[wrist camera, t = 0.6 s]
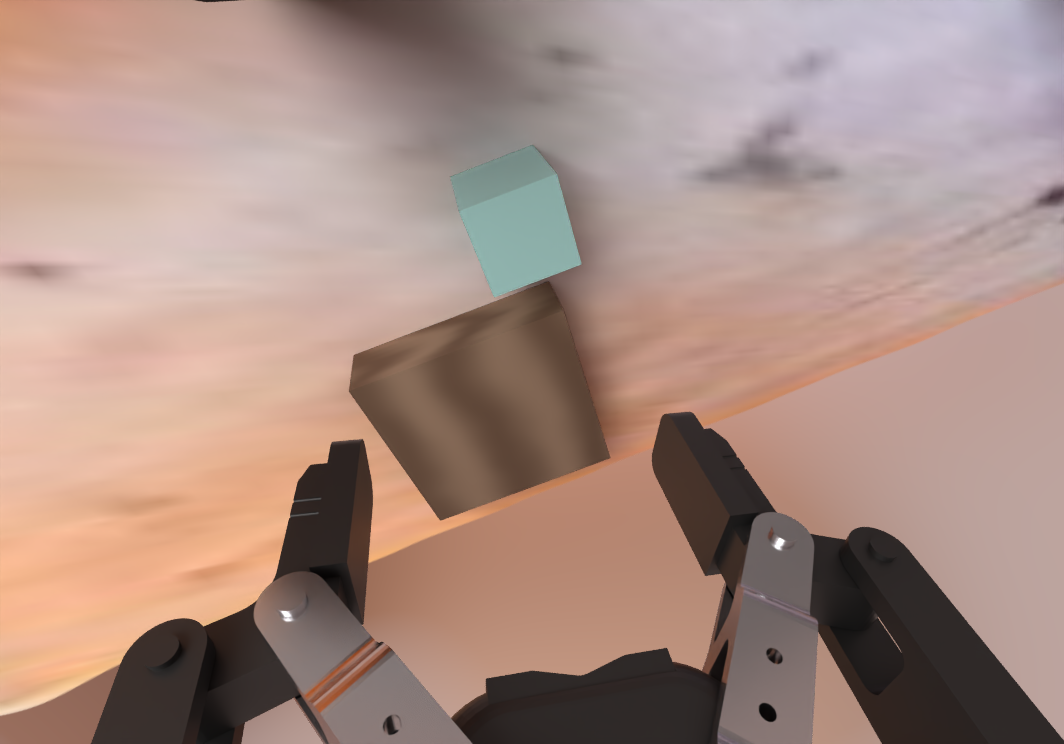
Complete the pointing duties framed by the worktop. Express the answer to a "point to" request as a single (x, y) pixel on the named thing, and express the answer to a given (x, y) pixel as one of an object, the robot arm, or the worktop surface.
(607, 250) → the worktop surface
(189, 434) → the worktop surface
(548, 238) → the teal block
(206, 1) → the aerosol can
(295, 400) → the worktop surface
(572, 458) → the stacking base
